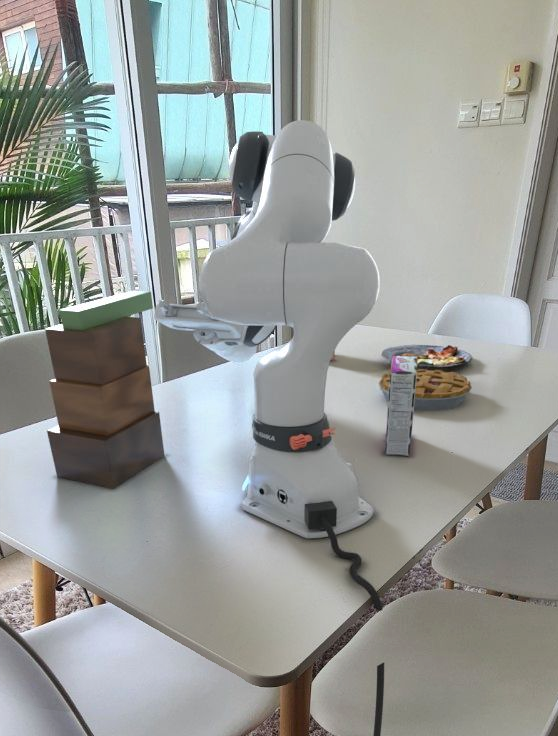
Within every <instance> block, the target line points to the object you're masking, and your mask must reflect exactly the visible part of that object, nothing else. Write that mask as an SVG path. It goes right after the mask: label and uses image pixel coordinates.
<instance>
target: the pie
mask: <svg viewBox="0 0 558 736" xmlns="http://www.w3.org/2000/svg"><path fill="white" fill-rule="evenodd" d="M467 378H468V377H466V376H465V375H458V373H457V372H455V371H450V372H449V371H448V372H446V371H443V369H437V368H436V369H434V370H428V369H426V368H419V369H417V376H416V388H415V401H414V410H417V411H443V410H450V409H454V408H456V407H458V406H460V405H461V404H462V402H463V400H464V399H465V398H466V396H468V395H470V393H471V390H472V389H473V386H472V384H471V381H470V380H468V379H467ZM389 382H390V372H389V374H388V373H384V374H383V375H382V376H381V379H380V380H379V381H378V383H377V384H378V388H379V390H380V391H381V392H382V394H383V397H384V399H385V401H386V402H387V403H388V397H389Z"/></svg>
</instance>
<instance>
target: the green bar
mask: <svg viewBox="0 0 558 736" xmlns="http://www.w3.org/2000/svg"><path fill="white" fill-rule="evenodd" d="M153 304H154V303H153V296H152V291H148V290H129V291H126V292H123V293H119V294H115V295H112V296H106V297H104V298H99V299H95V300H92V301H88V302H84V303H81V304H76V305H73V306H68V307H65V308H60V309H59V315H60V320H61V324H62V326H63V329H71V330H81V331H82V330H85V329H88V328H92V327H95V326H98V325H101V324H104V323H108V322H111V321H114V320H117V319H121V318H124V317H131V316H133V315H136V314H140V313H143V312H146V311H149V310H152V309H154V305H153Z"/></svg>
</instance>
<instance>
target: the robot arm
mask: <svg viewBox="0 0 558 736" xmlns="http://www.w3.org/2000/svg"><path fill="white" fill-rule="evenodd" d="M332 149H333V148H332V145H331V141H330V139H329V136H328V134H327V133H326V131H325V130H324V129H323V128H322V127H321V126H320V125H319V124H317V123H315V122H313V121H310V120H305V119H304V120H303V119H299V120H295V121H291V122H289V123H287V124H286V125H284V126H283V127H282V128H281V129H280V130H279V132H278V133H277V134H276V135H273V134H265V133H264V132H263V131H257V130H256V131H254V130H253V131H245V132H244V133H243V134H241V135H240V136H239V138H238V140H237V142H236V143H235V145H234V147H233V148H232V151H231V154H230V157H229V163H228V173H229V174H228V175H229V180H230V183H231V185H230V187H231V190H232V191H233V192H234V195H236V196H237V197H239V198H240V199H242V200H244V201H247V202H249V203H251V202H252V204H251V205H252V206H251V209H250V210H249V211H246V212H245V213H244V214H243V215H242V216H241V217H240V218H239V221H238V222H237V224H236V226H235V228H234V231H233V234H232V237H231V240H229V241H227V242H226V243H225V244H223V245H221V246H219V247H217V248H214V249H212V250H211V251H210V252H209V253H208V254H207V256H206V258H205V259H204V261H203V263H202V264H201V268H200V271H199V275H198V276H199V277H198V290H199V295H200V298H201V301H202V302H197V304H196V305H192V304H191V305H190V304H180V303H179V304H178V303H170V301H168V300H166V299H159V300H158V303H156V304H155V305H156V306H155V307H154V314H153V318H154V320H155V321H156V322H158V323H159V324H162V326H166V327H167V328H170V329H173V330H177V331H188V332H192V335H193V337H194V339H195V341H196V342H198V343H199V344H200V345H202V346H203V347H205V348H206V349H208V350H210V351H212V352H214V353H215V354H216V355H217V356H219V357H221V358H223V359H225V360H227V361H229V362H232V363H237V364H239V363H240V364H241V363H245V362H247V361H249V360H251V359H252V358H253V357H254V356H255V354H256V351H257V349H258V346H260V345H261V344H262V343H263V342H265V341H266V340H267V339H269V338H270V337H271V336H272V335H273V333H274V332H275V331H276V329H277V326H279V327H280V326H286V327H291V328H292V329H293V337H292V338H291V339H290V341H288V342H287V343H285V344H283V345H281V346H279V347H277V348H274V349H273V350H271V351H269V352H268V353H266V354H265V355H263V356H262V357H261V358H260V359H259V360H258V361H257V363H256V365H255V367H254V370H253V374H252V375H253V399H254V401H253V402H254V413H253V415H252V423H251V430H252V438H253V440H254V445H253V449H252V452H251V454H250V457H249V460H248V471H247V472H248V473H247V476H246V478H245V480H244V482H243V484H242V486H241V489H242V491H243V492H244V491H245V490H246V488H247V494H246V495H247V496H246V497H245V498H244V500H242V510H243V511H245V512H247V513H249V514H251V515H254V516H256V517H258V518H260V519H263V520H265V521H267V522H269V523H271V524H273V525H275V526H278V527H280V528H282V529H285V530H287V531H289V532H291V533H293V534H294V535H295V534H296V536H299V537H302V538H305V539H320V538H329V541H330V546H331V549H332V552H333V553H334V554H335V555H336V556H338V557H339V558H341V559H346V560H352V561H353V562H352V564H351V565H350V566H349V570H348V571H349V576H350V577H351V578H352V580H353V581H354V582H355V583H357V584H358V585H359V586H360V587H362V588H363V589H364V590H365V591H366V592H367V593H368V595H369V596H370V598H371V601H372V604H373V607H374V610H376V611H379V612H381V611H383V605H382V602H381V599H380V596H379V594H378V592H377V589H375V587H374V586H373V584H371V582H369V581H368V580H366V579H365V578H364V577H362V576H361V575H360V574H359V573H358V571H357V570H358V569H359V568H360V567H361V565H362V562H363V560H362V557H361V556H360V554H358V553H356V552H351V551H350V552H349V551H344V550H342V549H341V548H340V546H339V543H338V538H337V535H339V534H342V533H345V532H348V531H351V530H353V529H355V528H357V527H359V526H361V525H363V524H365V523H366V522H368V521H369V520H370V519H371V518H372V517H373V516H374V514H375V513H374V507H373V506H372V505H371V504H370V503H368V502H367V501H366V500H364V499H363V498H362V497H361V496H360V488H359V482H358V478H357V476H356V474H355V468H354V466H353V464H352V463H350V462H349V463H347V462H346V461H345V459H344V458H343V456H342V455H341V454H340V452H339V450H337V448H336V447H335V445H334V444H333V442H332V436H334V435H336V432H333V431H335V430H336V427H331V428H330V422H329V420H328V415H327V414H326V412H325V404H326V403H325V402H326V401H325V400H326V385H327V378H328V377H327V376H328V370H329V366H330V363H331V361H330V360H331V357H332V355H333V352H334V350H335V351H336V349H337V347H338V345H339V344H340V342H341V341H342V339H343V338H344V337H345V336H346V335H347V334H348V332H350V330H351V329H353V328H354V327H355V326H356V325H358V324H359V323H360V322H362V321H363V320H364V319H365V318H366V317H367V316H368V315H369V314H370V313H371V311H373V308H374V306H375V305H376V302H377V300H378V297H379V292H380V286H381V285H380V280H381V279H380V273H379V269H378V265H377V263H376V261H375V259H374V258H373V256H372V254H371V253H370V252H369V251H368V249H366V248H363V247H358V246H354V245H349V244H344V243H339V242H324V240H325V239H326V237H327V236H328V234H329V232H330V229H331V227H332V222H334V221H337V220H339V219H340V218H342V217H343V216H344V215H345V213H346V212H347V209H348V208H349V206H350V205H351V202H352V200H353V199H354V194H355V190H356V177H355V175H356V170H355V167H354V165H353V162H352V160H350V158H348V157H346V156H344V155H342V154H341V153H339V152H334V153H333V150H332ZM242 491H241V492H242ZM375 693H376V694H375V713H374V725H373V735H372V736H381V732H382V725H383V724H382V723H383V710H384V696H385V695H384V694H385V662H382V663H380V664H378V665H377V666H376V692H375Z"/></svg>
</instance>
